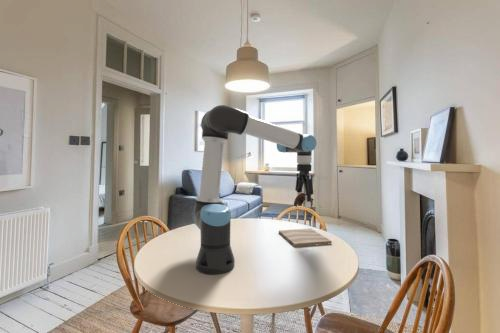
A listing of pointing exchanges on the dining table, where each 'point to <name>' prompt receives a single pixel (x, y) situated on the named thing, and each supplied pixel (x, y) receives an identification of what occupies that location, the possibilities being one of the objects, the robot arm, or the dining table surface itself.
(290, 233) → the walnut board
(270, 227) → the dining table surface
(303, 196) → the brown arched figurine
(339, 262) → the dining table surface
